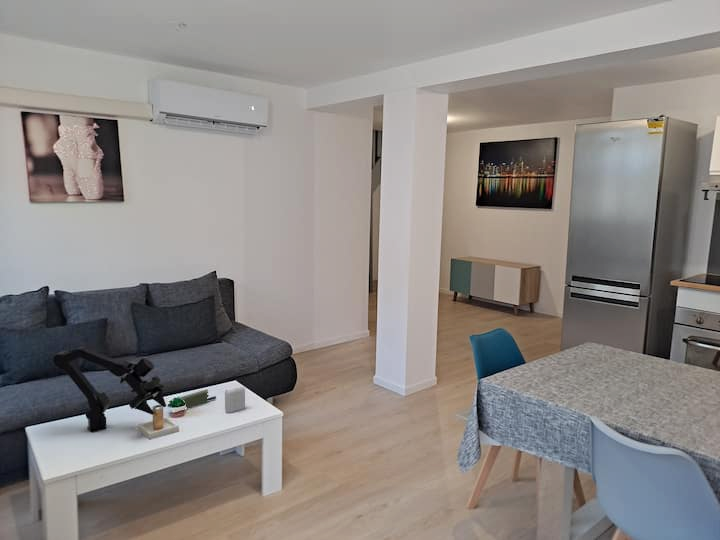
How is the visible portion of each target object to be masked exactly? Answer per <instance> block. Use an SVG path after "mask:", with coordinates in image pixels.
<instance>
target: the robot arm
mask: <svg viewBox="0 0 720 540" xmlns="http://www.w3.org/2000/svg"><path fill="white" fill-rule="evenodd" d="M80 358H81V359H84V360H85V361H87V362H91V363H92V364H95V365H98V366H100V367H101V368H104V369H106V370H107V371H108V372H109V373H111V374H112V375H114V376H116V377H119V378H120V380H119V383H120V384H124V383H126V384H127V385H128V386H129V388H130V389H131V390H130V392H131V393H132V394H133V393H135V394H136V396H135V397H134V398H132V399H131V401H129V404H128V405H129V407H130V409H131V410H133V409H134V410H139V411H142V412H144V413H146V414H149V415H150V416H151V415H152V416H153V414H154V412H153V410H152V407H151V406H150V405H149V404H148V400H147V398H152V400H153V401H154V402H156V403H157V404H158V405H162V406H163V408H166V407H167V404H166V400H165V397H164V396H163V395H164V394H163V393H164V389H165V386H164V385H163V383H161V379H160V377H158V376H157V375H156V376H154V377H151V380H149V381H148V380H147V379H146V380H145V379H144V380H143V378H145V377H146V376H147V375H148V374H149V373H150V372H151V371H153V370H154V369H155V365H154V364H153V362H152V361H151V360H149V359H146V358H145V357H141V359H139V361H138V362H136V363H131V362H129V361H127V360H124V359H120V358H112V357H109V356H106V355H105V354H102V353H99V352H97V351H95V350H92V349H89V348H87V347H85V346H80V347H78V348H75V349H72V350H63V351H61V352H59V353H58V354H56V355H54V356H53V358H52V363H53V365H54V366H55V367H56V368H57V369H58V370H60V371H62V372H63V373H66V375H68V377H69V378H70V379H71V380H72V382H73V383H74V384H75V385H76V387H77V388H78V389H79V391H80V392H81V393H82V394H83V395H84V397H85V398H86V399H87V400H86V401H87V405H88V408H90V409H89V411H87V412H86V413H85V417H86V420H87V425H88V426H87V430H88V431H89V432H91V433H94V432H99V431H102V430H106V429H107V417H106V414H105V412H106V411H107V409H108V408H109V407H110V403H111V401H110V400H109V399H110V397H108V396H107V394H106V392H105V391H102V392H99V391H97V390H96V388H95V387H94V386H93V385H92V384H91V382H90V381H89V380H88V378H87V377H86V375H84V373H83V372H82V371H81V370H80V368H79V367H78V366H77V365H78V364H77V361H76V360H77V359H80ZM142 377H143V378H142Z"/></svg>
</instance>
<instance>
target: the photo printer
mask: <svg viewBox="0 0 720 540" xmlns="http://www.w3.org/2000/svg"><path fill="white" fill-rule="evenodd" d="M244 409H246V388H245V386H244V385H240V384H238V385H237V384H236V385H232V386H229V387H228V388H226V389H225V391H224V410H225V411H224V412H225V413H227V414H230V413H233V412H238V411H241V410H244Z"/></svg>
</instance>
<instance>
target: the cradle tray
mask: <svg viewBox="0 0 720 540" xmlns="http://www.w3.org/2000/svg"><path fill="white" fill-rule="evenodd" d="M163 423H164V428H163V429H162V430H158V431H156V430H153V420H151V421H147V422H143V423H139V424H138V425H137V426H138V429H137V430H138V431H139V432H140V433H141V434H142V435H144V436H145V437H146V438H147V439H149V440H152V439H157V438H159V437H163V435H164V436H166V435H170V433H171V434H175V433H177V431H178V432H179V431H180V426H179V425H178V424H177V423H175V422H174V421H173V420H171V419H170V418H168V417H163ZM174 432H175V433H174Z"/></svg>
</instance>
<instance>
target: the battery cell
mask: <svg viewBox="0 0 720 540" xmlns="http://www.w3.org/2000/svg"><path fill="white" fill-rule="evenodd" d="M151 409H152V410H153V412H154V414H153V415H152V421H153V430H156V431H158V430H162V429H163V428H164V423H163V418H164V407H163V406H162V405H160V404H157V405H153V406H152V407H151Z"/></svg>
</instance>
